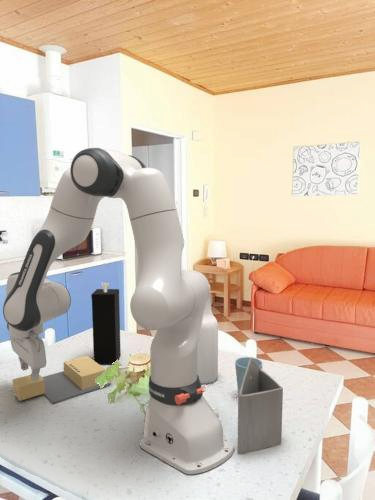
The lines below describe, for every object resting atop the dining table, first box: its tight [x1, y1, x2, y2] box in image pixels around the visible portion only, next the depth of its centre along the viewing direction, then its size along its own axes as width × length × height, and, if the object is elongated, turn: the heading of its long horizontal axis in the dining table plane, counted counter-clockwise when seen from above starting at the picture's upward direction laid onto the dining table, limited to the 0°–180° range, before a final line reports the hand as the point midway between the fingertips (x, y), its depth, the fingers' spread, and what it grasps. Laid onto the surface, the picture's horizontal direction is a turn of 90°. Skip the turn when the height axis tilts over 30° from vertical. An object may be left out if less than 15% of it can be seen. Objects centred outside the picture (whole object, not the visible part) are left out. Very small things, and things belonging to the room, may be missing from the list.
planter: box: [237, 356, 284, 455], centre depth 92 cm, size 16×8×19 cm, turn 154°
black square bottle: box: [90, 281, 122, 365], centre depth 138 cm, size 8×8×28 cm
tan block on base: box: [41, 355, 112, 405], centre depth 122 cm, size 18×18×5 cm
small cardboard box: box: [12, 374, 45, 401], centre depth 114 cm, size 6×7×4 cm
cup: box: [234, 356, 264, 396], centre depth 112 cm, size 8×8×10 cm
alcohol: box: [197, 285, 219, 385], centre depth 123 cm, size 9×9×30 cm
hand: (29, 374), depth 113 cm, fingers open, 8 cm apart
